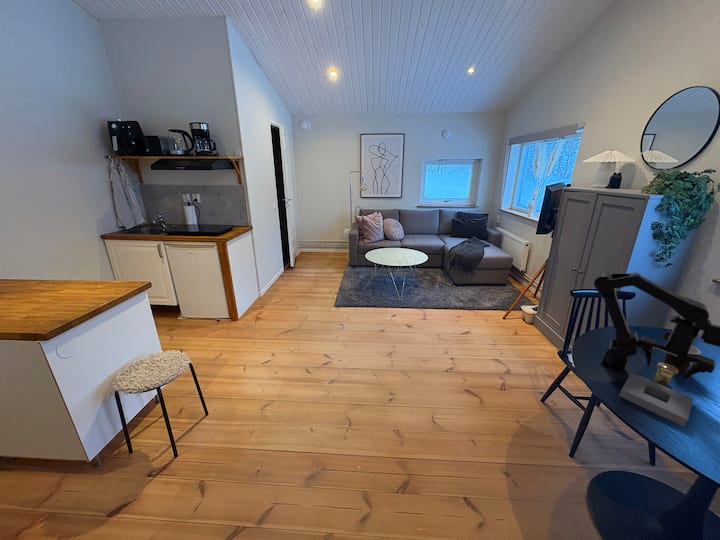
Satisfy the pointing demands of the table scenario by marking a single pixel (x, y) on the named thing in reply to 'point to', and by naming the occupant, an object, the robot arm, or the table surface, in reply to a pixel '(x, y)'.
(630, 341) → the robot arm
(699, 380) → the table surface
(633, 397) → the flange socket
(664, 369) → the brass fitting
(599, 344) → the table surface
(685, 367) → the coffee mug
